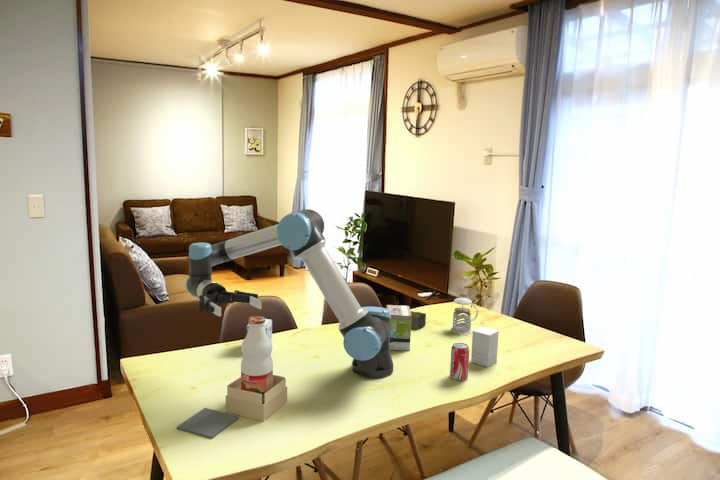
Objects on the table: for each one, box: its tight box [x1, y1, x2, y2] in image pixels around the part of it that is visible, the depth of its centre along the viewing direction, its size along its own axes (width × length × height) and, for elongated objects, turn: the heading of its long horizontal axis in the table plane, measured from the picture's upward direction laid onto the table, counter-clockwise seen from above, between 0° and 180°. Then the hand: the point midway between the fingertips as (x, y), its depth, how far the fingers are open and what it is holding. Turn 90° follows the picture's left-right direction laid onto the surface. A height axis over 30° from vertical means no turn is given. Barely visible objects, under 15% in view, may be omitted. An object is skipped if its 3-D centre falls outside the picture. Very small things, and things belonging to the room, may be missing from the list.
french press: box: [450, 276, 479, 335], centre depth 226 cm, size 10×12×25 cm
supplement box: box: [470, 326, 499, 368], centre depth 191 cm, size 7×7×13 cm
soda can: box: [449, 342, 471, 381], centre depth 177 cm, size 6×6×12 cm
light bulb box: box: [246, 318, 273, 343], centre depth 199 cm, size 11×7×11 cm, turn 168°
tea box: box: [386, 304, 412, 351], centre depth 208 cm, size 15×10×15 cm, turn 179°
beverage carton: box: [410, 310, 427, 330], centre depth 234 cm, size 8×19×7 cm, turn 61°
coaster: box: [176, 407, 240, 439], centre depth 143 cm, size 12×12×1 cm
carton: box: [225, 374, 288, 422], centre depth 152 cm, size 13×13×8 cm
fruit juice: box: [240, 315, 274, 404], centre depth 151 cm, size 9×9×28 cm
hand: (240, 308), depth 156 cm, fingers open, 13 cm apart
